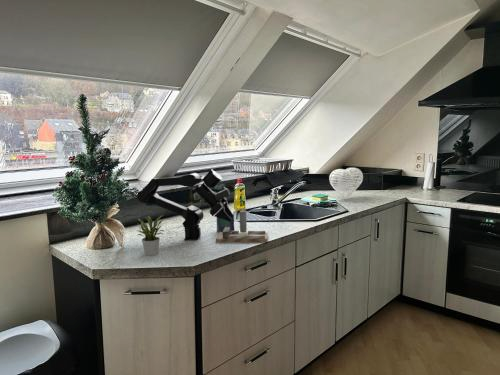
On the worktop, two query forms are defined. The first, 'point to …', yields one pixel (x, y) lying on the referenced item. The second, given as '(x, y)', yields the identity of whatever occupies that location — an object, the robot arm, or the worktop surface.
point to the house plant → (150, 236)
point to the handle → (243, 224)
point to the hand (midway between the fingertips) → (231, 218)
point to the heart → (341, 171)
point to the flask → (225, 224)
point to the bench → (241, 236)
